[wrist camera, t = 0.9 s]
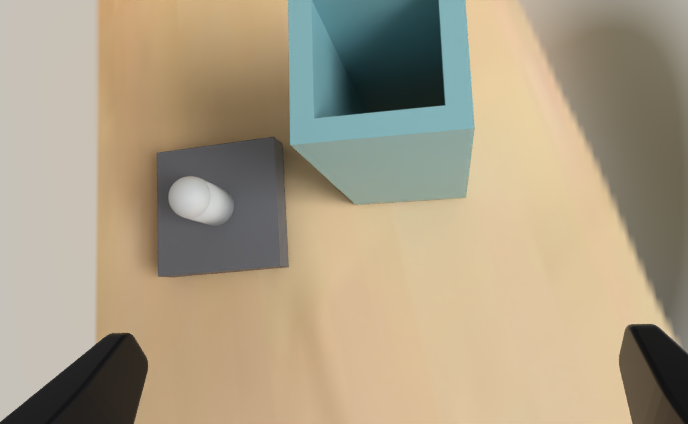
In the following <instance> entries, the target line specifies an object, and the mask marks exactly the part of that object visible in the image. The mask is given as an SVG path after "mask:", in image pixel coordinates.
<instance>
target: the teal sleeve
mask: <svg viewBox="0 0 688 424" xmlns="http://www.w3.org/2000/svg"><path fill="white" fill-rule="evenodd" d="M288 17H289V101H290V145H291V146H292V147H293V148H294V149H295V150H296V151H297V152H298V153H299V154H301V155H302V156H303V157H304V158H305V159H306V160H307V161H308V162H309V163H310V164H312V165H313V166H314V167H315V168H316V169H317V170H318V171H319V172H320V173H321V174H322V175H324V176H325V177H326V178H327V179H328V180H329V181H330V182H331V183H332V184H333V185H335V186H336V187H337V188H338V189H339V190H340V191H341V192H342V193H343V194H344V195H346V196H347V197H348V198H349V199H350V200H351V201H352V202H353V203H354V204H355V205H359V204H374V203H390V202H405V201H421V200H436V199H452V198H466V192H467V184H468V176H469V168H470V160H471V152H472V144H473V136H474V115H473V101H472V87H471V73H470V59H469V46H468V32H467V18H466V4H465V0H288Z"/></svg>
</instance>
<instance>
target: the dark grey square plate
mask: <svg viewBox="0 0 688 424" xmlns="http://www.w3.org/2000/svg"><path fill="white" fill-rule="evenodd" d="M157 203H158V276H160V277H180V276H192V275H203V274H214V273H226V272H237V271H249V270H260V269H272V268H283V267H289V263H288V244H287V225H286V206H285V188H284V169H283V150H282V143H281V142H279V141H278V140H277V139H276V138H275V137H269V138H262V139H254V140H247V141H240V142H232V143H225V144H218V145H211V146H203V147H196V148H189V149H182V150H174V151H167V152H160V153H157Z"/></svg>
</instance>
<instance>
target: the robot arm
mask: <svg viewBox="0 0 688 424" xmlns="http://www.w3.org/2000/svg"><path fill="white" fill-rule="evenodd" d="M619 366H620V372H621V376H622V380H623V385H624V389H625V393H626V397H627V402H628V406H629V410H630V415H631V419H632V423H633V424H688V353H687V352H686V351H685V350H683V349H682V348H681V347H680V346H679V345H678V344H677V343H676V342H675V341H673V340H672V339H671V338H670V337H669V336H668V335H667V334H666V333H665V332H664V331H662V330H661V329H660V328H659V327H657V326H656V325H653V324H631V325H628V326H627V327H626V329H625V332H624V337H623V341H622V346H621V350H620V355H619ZM147 371H148V361H147V358H146V356H145V354H144V352H143V351H142V349H141V348H140V346H139V344H138V343H137V341H136V339H135V338H134V336H133V335H131V334H130V333H112V334H109V335H107V336H106V337H104V338H103V339H102V340H101V341H99V342H98V343H97V344H96V345H94V346H93V347H92V348H91V349H90V350H89V351H87V352H86V353H85V354H84V355H82V356H81V357H80V358H78V359H77V360H76V361H75V362H74V363H72V364H71V365H70V366H69V367H67V368H66V369H65V370H64V371H63V372H61V373H60V374H59V375H58V376H56V377H55V378H54V379H53V380H51V381H50V382H49V383H48V384H46V385H45V386H44V387H43V388H42V389H40V390H39V391H38V392H37V393H36V394H34V395H33V396H32V397H30V398H29V399H28V400H27V401H26V402H24V403H23V404H22V405H21V406H19V407H18V408H17V409H16V410H14V411H13V412H12V413H11V414H10V415H8V416H7V417H6V418H5V419H3V420H2V421H1V422H0V424H134V421H135V417H136V413H137V409H138V406H139V402H140V398H141V394H142V390H143V387H144V383H145V379H146V375H147Z"/></svg>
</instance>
